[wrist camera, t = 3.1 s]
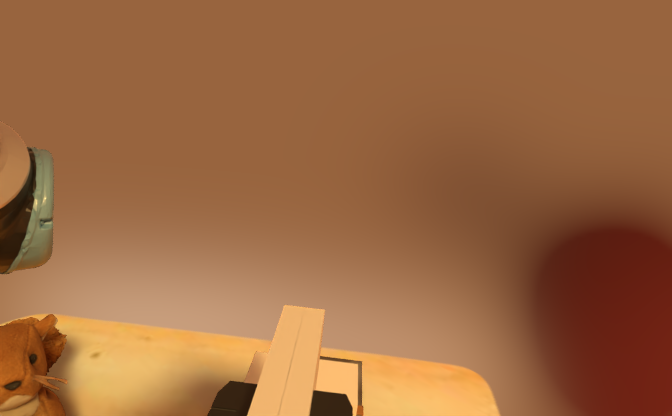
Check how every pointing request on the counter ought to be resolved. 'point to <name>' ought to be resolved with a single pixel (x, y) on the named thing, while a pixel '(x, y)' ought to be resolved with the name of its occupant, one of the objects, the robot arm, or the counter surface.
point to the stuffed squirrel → (29, 367)
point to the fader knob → (320, 377)
